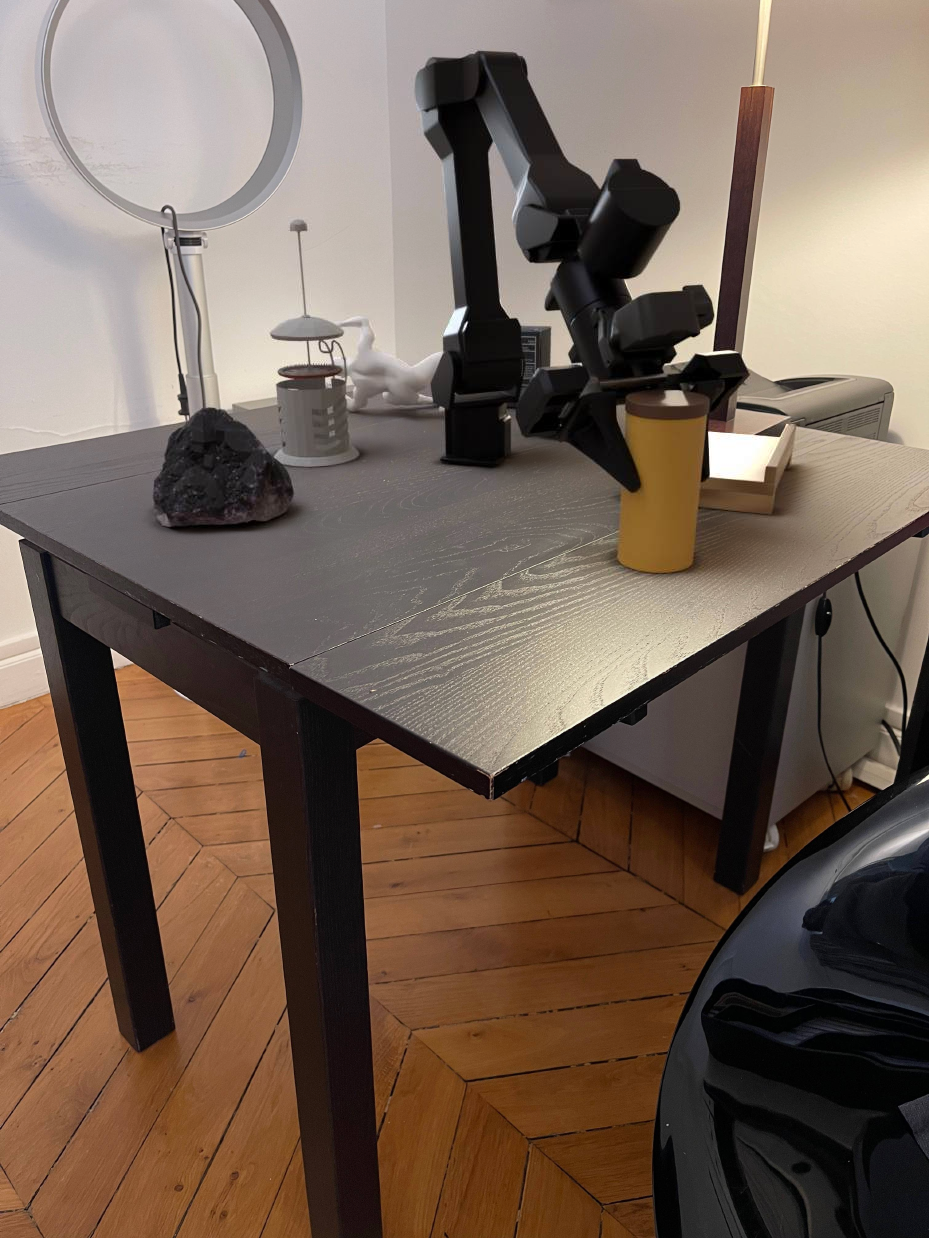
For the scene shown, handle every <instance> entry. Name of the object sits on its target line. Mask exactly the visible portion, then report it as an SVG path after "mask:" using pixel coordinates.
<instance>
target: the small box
mask: <svg viewBox="0 0 929 1238" xmlns="http://www.w3.org/2000/svg"><path fill="white" fill-rule="evenodd" d="M521 342H522V349H523V353H524V358H525V363H526V366H525V371H524V377H523V382H522V388H521V393H520V398H521V396H522V394H523V393H524V391H525V389H526V387H527V386H528V384H529V382H530V380H531V378H532V377H533V375H534V373H535V372H536V370H537V368H542V367H551V361H552V360H551V359H552V355H551V353H552V350H551V349H552V326H550V325H521ZM520 398H519V400H520ZM516 405H517V403H507V407H506V408H516Z"/></svg>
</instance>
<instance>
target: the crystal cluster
mask: <svg viewBox="0 0 929 1238" xmlns="http://www.w3.org/2000/svg"><path fill="white" fill-rule="evenodd" d="M294 495H295V491H294V486H293V484H292V479H291V477H290V473H289V472H288V469H287V468H286V467H285V465H284V464H281V462H279V461H278V460H277V459H275V458H274V456H273V455H272V454H271V453H270V452H269V451H268V450H267V449H266V447H265V445H264V444H263V443H262V442H261V441H260V439H258V437H257V436H256V435H255V434H254V433H253V431H252V430H250V428H249V427H248V426H247V425H246V424H244V423H243V422H241V421H239V420H235V419H234V417H232V416H231V415H230V414H229V413H228V412H227V410H226V409H225V408H219V409H217V408H216V407H212V406H208V407H202V408H201V409H199V410H198V411H197V410H196V412H195V413H194V414H192V415H191V416H190V417H189V419H188V420H187V421H186V423H185V424H184V425H183V426H181V427H177V429H176V430H175V431H173V432H172V433H171V434H170V436H169V437H168V440H167V445H166V448H165V453H164V461H163V463H162V468H161V470H160V472H159V474H158V475H157V476H156V477H155V478H154V479H153V493H152V500H153V514H155V515H157V516H156V519H157V520H158V522H159V523H160V525H161V526H162V527H168V528H172V527H190V526H198V525H199V526H200V525H201V526H204V525H205V526H210V525H238V524H242V523H249V522H250V521H259V522H266V521H269V520H273V519H274V518H277V517H279V516H281V515H283V514H284V513H286V512H287V510H288V509H289V508H290V504H291V501H292V500H293V498H294Z"/></svg>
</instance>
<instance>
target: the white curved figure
mask: <svg viewBox="0 0 929 1238" xmlns="http://www.w3.org/2000/svg"><path fill="white" fill-rule="evenodd" d="M331 322H332V323H334V324H335V325H337V326H338V327H340V328H341V329H343V328H358V329H359V328H360V333H359V334H360V338H359V340H358V341H357V344H356V349H357V354H356V356H355V357H354V358H353V359H352V358H349V357H345V359H346V368H347V377H348V376H349V377H350V380H351V381H352V384H353V385H354V387H353V390H352V398H351V397H350V396H348V395H347V394H345V399H347V406H346V410H347V411H349V412H351V413H354V412H357V411H359V410H360V409H363V408H366V407H367V406H368V404H369V399H371V398H374V397H376V396H377V395H380V394H382V398H383V400H384V402H386V403H387V404H390V405H392V406H406V407H407V406H409V407H410V406H420V405H432V406H438V405H437V404H435V403H433V399H432V396H427V395H424V394H420V392H421V391H424V390H426V388H428V387H429V386H431V381H432V379H433V376H434V374H435V371H436V369H437V366H438V364H439V361H440V359H441V356H442V354H443V350H442V351H438V352H434V353H432V354H431V355H429V356H427V357H426V358H424V359H423V360H421V361H420V362H418V363H417V364H414V365H412V366H411V365H408V363H406V362H405V361H403V360H401V359H400V358H398V357H395V356H393V355H391V354H388V353H385V352H381V351H380V350H379V349H378V348H375V347H374V343H375V341H376V338H377V334H376V331H375V330H374V328H373V326H372V323H371V318H369V317H366V316H362V315H358V316H353V317H352V316H351V317H350V318H348V319H344V320H340V321H331ZM333 360H334V365H337V366H340V367H341V368H342V372H341V373H339V374H338V375H336V376H337V377H340V379H345V369H344V359H343V356H336V357H333ZM329 364H330V365H331V364H332V361H331V360H330V361H329V362H328V365H329ZM336 376H335V377H336ZM325 384H326V389H327V388H332V386H331V381H325ZM438 411H439V413H441V414H445V408H443V407H441V406H439V407H438Z"/></svg>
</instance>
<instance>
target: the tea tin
mask: <svg viewBox="0 0 929 1238" xmlns="http://www.w3.org/2000/svg"><path fill="white" fill-rule="evenodd" d="M709 403H710V399H709V398H708V397H707V396H705V395H702V394H699V393H694V392H688V391H679V390H647V391H639V392H634V393H631V394H628V395H627V396H626V399H625V405H624V411H625V423H624V439H625V441H626V444H627V446H628V448H629V451H630V453H631V456H632V458H633V461H634V463H635V466H636V469H637V472H638V475H639V479H640V483H641V487H640V489H639V490H638V491H637V492H636V493H631V492H629V491H628V490H627V489H626V488H625V487H623V486H622V485H621V490H620V504H619V505H620V507H619V521H618V523H619V524H618V541H617V557H616V558H617V561H618V562H619V563H620V564H621V565H623V567H627V568H628V569H632V570H635V571H638V572H643V573H654V574H668V573H675V572H680V571H684V570H687V569H688V568H690V567H691V566H692V564H693V563H694V553H695V545H696V544H695V543H696V531H697V523H698V511H699V507H698V503H699V492H700V482H701V472H702V461H703V451H704V440H705V430H706V420H707V414H708V412H709Z"/></svg>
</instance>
